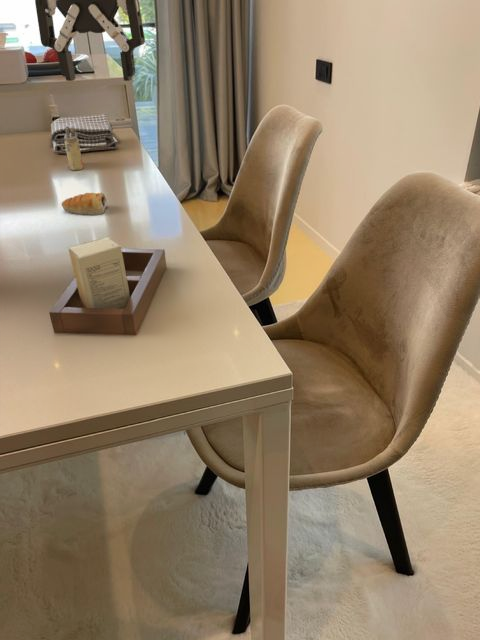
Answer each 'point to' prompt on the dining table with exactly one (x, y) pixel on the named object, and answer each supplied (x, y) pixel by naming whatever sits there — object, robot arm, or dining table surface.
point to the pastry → (86, 204)
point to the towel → (84, 133)
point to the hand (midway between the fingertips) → (99, 80)
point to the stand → (105, 320)
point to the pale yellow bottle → (73, 149)
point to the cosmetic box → (100, 274)
